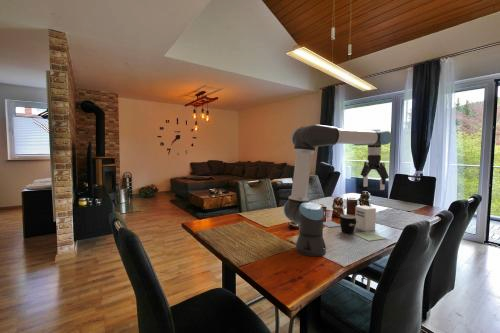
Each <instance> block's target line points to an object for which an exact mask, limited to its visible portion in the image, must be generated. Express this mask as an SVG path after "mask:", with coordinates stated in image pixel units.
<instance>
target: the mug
mask: <svg viewBox="0 0 500 333" xmlns="http://www.w3.org/2000/svg"><path fill="white" fill-rule="evenodd" d="M339 217H340V218H339V221H340V223H339V225H341V226H340V229H341V230H340V231H341V233H342V234H347V235H352V234H354V232H355V228H356V227H355V226H356V217H355V215H351V214H341V215H340V216H339Z"/></svg>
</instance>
